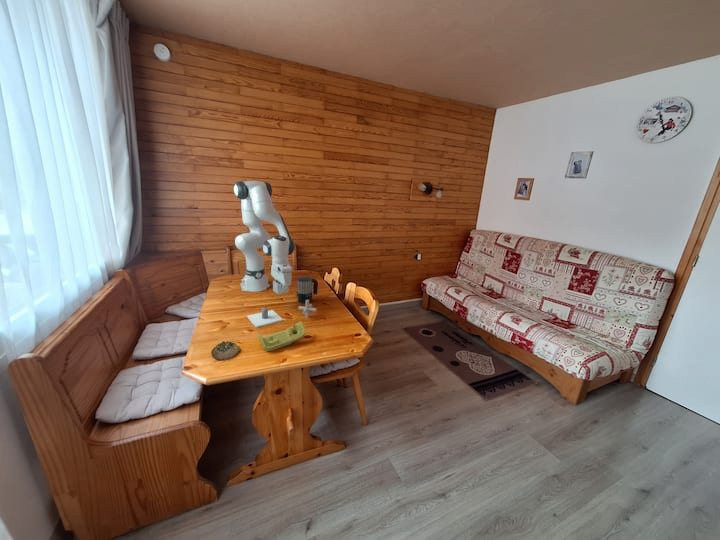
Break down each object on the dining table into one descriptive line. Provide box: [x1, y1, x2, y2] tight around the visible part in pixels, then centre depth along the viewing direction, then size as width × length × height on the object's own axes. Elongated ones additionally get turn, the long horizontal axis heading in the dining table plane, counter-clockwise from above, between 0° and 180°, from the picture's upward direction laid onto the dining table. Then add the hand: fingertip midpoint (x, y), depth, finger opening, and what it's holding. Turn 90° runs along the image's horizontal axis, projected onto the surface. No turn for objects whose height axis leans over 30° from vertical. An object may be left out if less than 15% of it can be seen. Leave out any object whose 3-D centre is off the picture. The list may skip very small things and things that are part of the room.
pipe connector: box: [297, 300, 317, 319], centre depth 151 cm, size 10×10×10 cm
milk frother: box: [295, 276, 319, 304], centre depth 176 cm, size 14×16×15 cm
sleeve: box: [272, 279, 290, 295], centre depth 158 cm, size 7×7×6 cm
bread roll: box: [210, 340, 241, 361], centre depth 117 cm, size 11×11×5 cm
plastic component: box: [258, 321, 306, 352], centre depth 127 cm, size 20×7×10 cm
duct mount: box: [247, 307, 284, 329], centre depth 147 cm, size 14×14×6 cm
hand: (280, 288), depth 158 cm, fingers closed on sleeve, 7 cm apart
